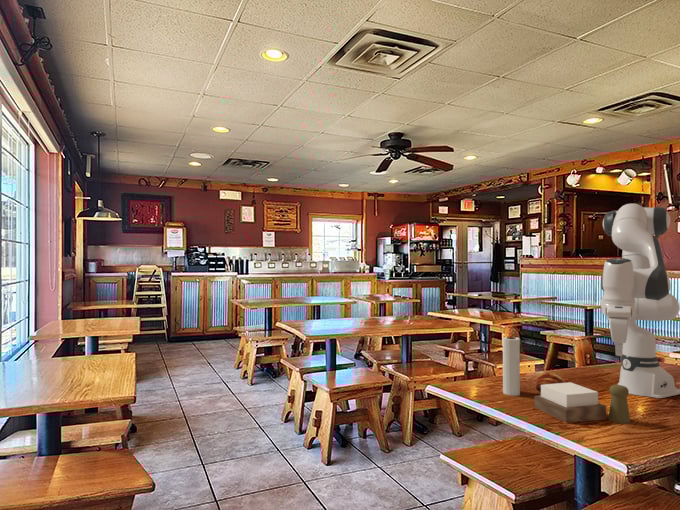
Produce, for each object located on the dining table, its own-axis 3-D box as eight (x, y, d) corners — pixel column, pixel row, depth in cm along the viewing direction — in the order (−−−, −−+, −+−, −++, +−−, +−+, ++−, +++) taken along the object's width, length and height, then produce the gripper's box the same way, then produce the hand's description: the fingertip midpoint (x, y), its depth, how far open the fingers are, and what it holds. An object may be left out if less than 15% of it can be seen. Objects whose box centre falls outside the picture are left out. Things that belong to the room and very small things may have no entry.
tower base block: (571, 406, 161) (571, 392, 161) (606, 421, 147) (606, 406, 147) (534, 410, 157) (534, 395, 158) (566, 425, 143) (566, 409, 143)
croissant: (554, 391, 187) (543, 373, 190) (577, 382, 181) (565, 363, 184) (533, 402, 172) (522, 382, 175) (557, 392, 166) (545, 371, 169)
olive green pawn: (633, 424, 143) (633, 388, 143) (612, 423, 144) (612, 387, 144) (625, 417, 149) (625, 383, 149) (605, 416, 150) (605, 382, 150)
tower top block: (570, 393, 160) (570, 382, 160) (598, 404, 148) (598, 392, 148) (540, 396, 157) (540, 384, 157) (566, 407, 145) (566, 394, 145)
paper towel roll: (508, 397, 170) (508, 339, 170) (499, 392, 176) (499, 336, 176) (526, 396, 172) (525, 338, 172) (516, 391, 178) (516, 336, 178)
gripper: (607, 306, 157) (607, 346, 157) (606, 311, 139) (606, 357, 139) (629, 307, 154) (629, 348, 154) (631, 313, 136) (631, 359, 136)
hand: (618, 353), depth 146 cm, fingers open, 8 cm apart
